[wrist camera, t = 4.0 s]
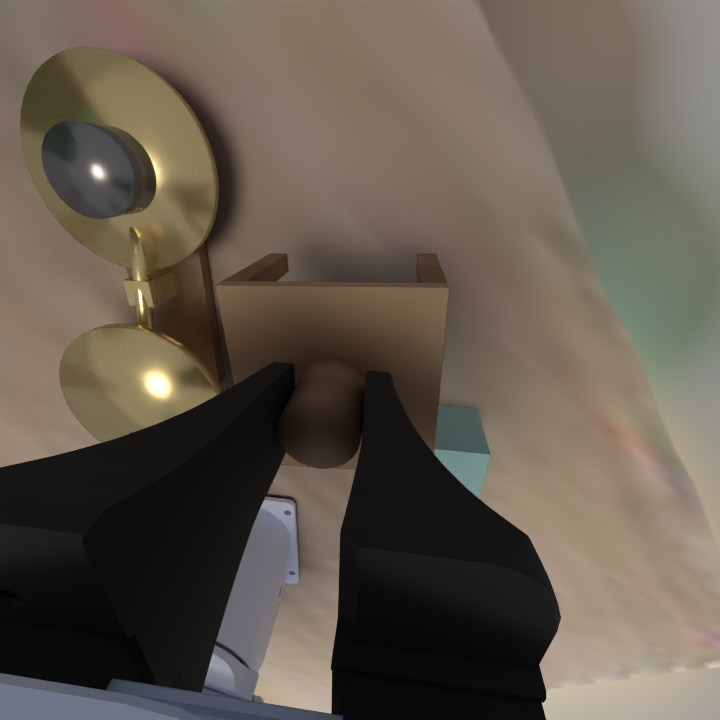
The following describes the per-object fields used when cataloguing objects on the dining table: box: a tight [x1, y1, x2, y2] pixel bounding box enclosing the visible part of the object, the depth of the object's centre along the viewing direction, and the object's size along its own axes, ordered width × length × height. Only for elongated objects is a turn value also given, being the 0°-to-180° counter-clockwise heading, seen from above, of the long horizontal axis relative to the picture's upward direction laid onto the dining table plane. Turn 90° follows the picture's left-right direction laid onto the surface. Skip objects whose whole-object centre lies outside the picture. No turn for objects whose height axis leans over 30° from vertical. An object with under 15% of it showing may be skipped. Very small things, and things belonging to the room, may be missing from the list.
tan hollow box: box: [215, 254, 449, 470], centre depth 13 cm, size 7×7×7 cm
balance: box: [20, 47, 225, 443], centre depth 18 cm, size 18×8×5 cm, turn 177°
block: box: [434, 405, 491, 498], centre depth 21 cm, size 4×4×4 cm
